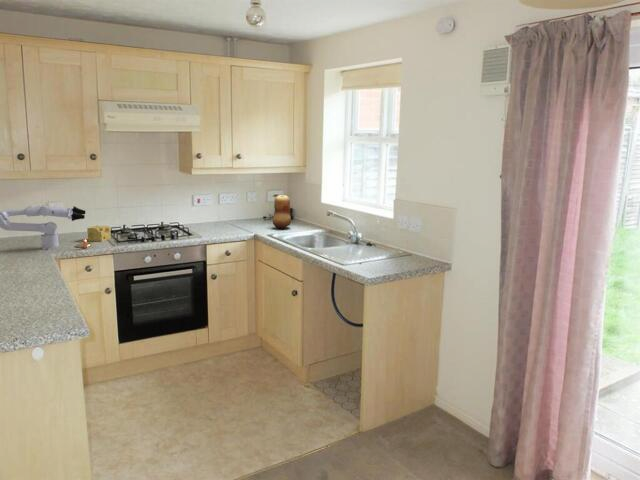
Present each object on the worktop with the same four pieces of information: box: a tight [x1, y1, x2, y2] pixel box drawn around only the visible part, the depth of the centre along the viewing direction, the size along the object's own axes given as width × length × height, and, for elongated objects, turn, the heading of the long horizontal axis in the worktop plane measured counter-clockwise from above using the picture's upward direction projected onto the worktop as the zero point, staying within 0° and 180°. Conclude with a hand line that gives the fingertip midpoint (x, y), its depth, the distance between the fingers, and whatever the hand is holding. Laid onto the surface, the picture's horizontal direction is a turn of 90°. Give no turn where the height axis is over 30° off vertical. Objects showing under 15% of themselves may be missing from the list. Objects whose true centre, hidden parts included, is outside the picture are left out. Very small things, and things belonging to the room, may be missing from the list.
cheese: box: [86, 224, 112, 243], centre depth 342 cm, size 10×11×10 cm
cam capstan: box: [75, 238, 93, 250], centre depth 322 cm, size 14×9×6 cm, turn 29°
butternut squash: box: [272, 194, 292, 229], centre depth 390 cm, size 14×13×25 cm
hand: (85, 214), depth 327 cm, fingers open, 7 cm apart
